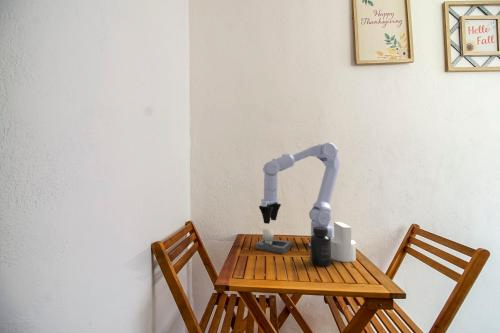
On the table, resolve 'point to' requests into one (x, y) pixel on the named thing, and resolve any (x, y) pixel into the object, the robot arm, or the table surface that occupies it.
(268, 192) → the robot arm
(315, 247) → the supplement bottle
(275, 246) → the keyhole plate
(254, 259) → the table surface
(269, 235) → the light bulb
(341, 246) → the cylinder with rectangular tab
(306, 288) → the table surface
